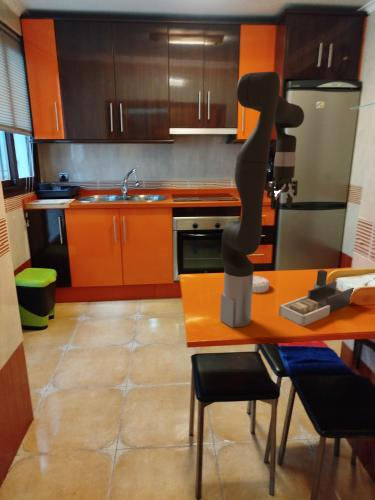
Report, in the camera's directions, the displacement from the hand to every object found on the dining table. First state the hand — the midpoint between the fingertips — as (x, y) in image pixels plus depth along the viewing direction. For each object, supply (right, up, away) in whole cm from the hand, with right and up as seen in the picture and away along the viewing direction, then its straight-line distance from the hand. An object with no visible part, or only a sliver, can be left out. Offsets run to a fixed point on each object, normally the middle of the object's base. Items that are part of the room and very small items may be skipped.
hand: (281, 208), depth 133 cm
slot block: (+17, -36, -6) cm, 40 cm away
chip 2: (+6, -38, -13) cm, 40 cm away
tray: (+4, -38, -14) cm, 41 cm away
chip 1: (+3, -36, -15) cm, 39 cm away
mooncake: (-8, -32, +11) cm, 35 cm away
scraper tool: (+17, -33, +5) cm, 37 cm away
